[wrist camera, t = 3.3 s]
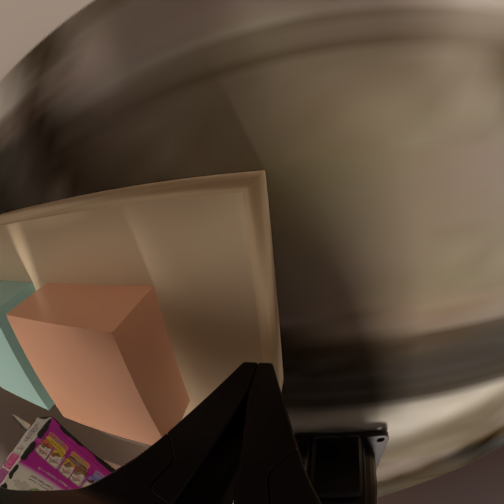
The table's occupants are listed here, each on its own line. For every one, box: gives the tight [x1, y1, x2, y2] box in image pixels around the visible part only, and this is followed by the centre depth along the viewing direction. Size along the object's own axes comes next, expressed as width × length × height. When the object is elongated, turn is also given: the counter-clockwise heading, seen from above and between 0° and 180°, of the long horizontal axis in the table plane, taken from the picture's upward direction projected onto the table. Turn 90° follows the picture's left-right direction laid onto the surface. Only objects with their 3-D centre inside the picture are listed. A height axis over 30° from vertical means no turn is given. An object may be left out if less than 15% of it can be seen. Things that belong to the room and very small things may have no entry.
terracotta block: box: [6, 283, 190, 445], centre depth 9 cm, size 5×5×2 cm
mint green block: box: [0, 280, 55, 410], centre depth 10 cm, size 5×5×2 cm
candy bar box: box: [0, 416, 114, 490], centre depth 18 cm, size 11×5×16 cm, turn 32°
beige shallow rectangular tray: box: [0, 170, 284, 419], centre depth 13 cm, size 10×16×4 cm, turn 97°
